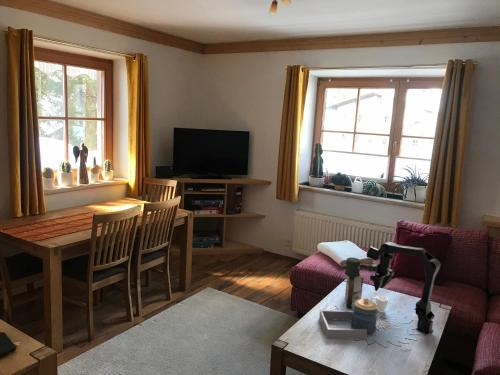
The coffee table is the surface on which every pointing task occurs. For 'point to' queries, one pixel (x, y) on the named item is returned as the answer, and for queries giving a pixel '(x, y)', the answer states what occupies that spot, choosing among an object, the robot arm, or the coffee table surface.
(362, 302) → the canister
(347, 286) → the coffee box
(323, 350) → the coffee table surface
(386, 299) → the cup
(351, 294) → the stick grenade
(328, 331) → the corral
